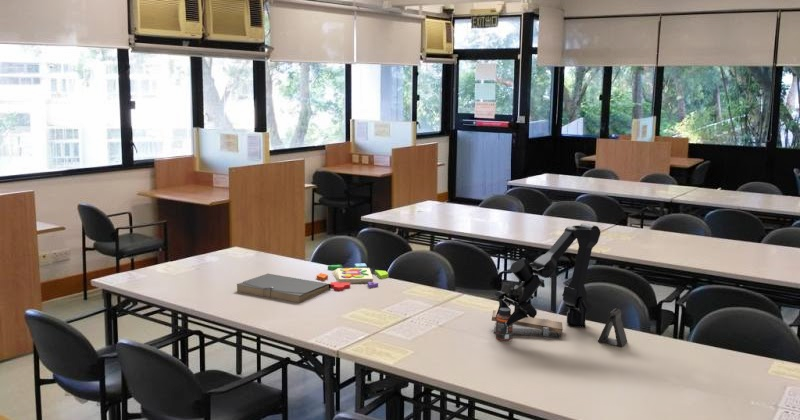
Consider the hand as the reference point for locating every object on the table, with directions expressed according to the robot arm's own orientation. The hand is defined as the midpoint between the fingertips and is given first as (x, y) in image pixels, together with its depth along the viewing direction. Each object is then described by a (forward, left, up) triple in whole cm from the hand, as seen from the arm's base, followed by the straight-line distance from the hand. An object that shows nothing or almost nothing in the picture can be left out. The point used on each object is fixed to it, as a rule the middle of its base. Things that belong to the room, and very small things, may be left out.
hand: (501, 322), depth 264 cm
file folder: (+96, -41, -7) cm, 105 cm away
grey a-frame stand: (-40, -7, -7) cm, 41 cm away
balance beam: (-9, -12, -4) cm, 15 cm away
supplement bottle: (-1, -1, -7) cm, 7 cm away
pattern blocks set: (+72, -69, -7) cm, 100 cm away
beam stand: (-9, -12, -7) cm, 16 cm away
